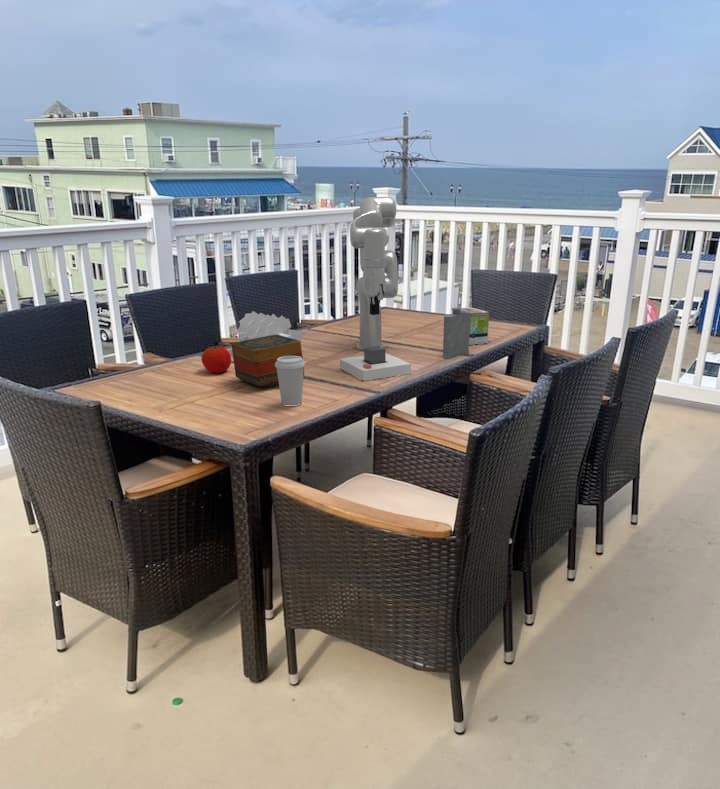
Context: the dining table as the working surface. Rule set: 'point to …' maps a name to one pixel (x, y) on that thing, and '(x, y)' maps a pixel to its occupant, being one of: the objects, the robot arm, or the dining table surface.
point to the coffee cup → (290, 379)
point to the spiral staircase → (265, 327)
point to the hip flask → (456, 333)
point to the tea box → (477, 325)
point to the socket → (375, 367)
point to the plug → (374, 355)
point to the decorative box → (262, 358)
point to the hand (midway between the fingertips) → (374, 314)
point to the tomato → (216, 359)
